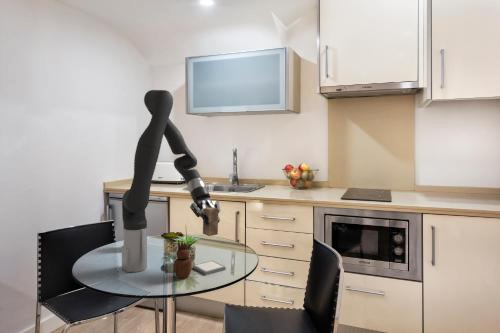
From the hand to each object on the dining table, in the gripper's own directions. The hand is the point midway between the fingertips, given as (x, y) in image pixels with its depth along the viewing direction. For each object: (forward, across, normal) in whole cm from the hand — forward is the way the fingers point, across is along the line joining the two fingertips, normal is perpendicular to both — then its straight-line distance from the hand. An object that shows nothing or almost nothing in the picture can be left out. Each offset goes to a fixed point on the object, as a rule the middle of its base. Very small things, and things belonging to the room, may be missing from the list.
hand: (213, 222), depth 144 cm
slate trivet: (+13, -1, +14) cm, 20 cm away
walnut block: (+2, 0, +5) cm, 6 cm away
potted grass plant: (+14, -14, +14) cm, 24 cm away
